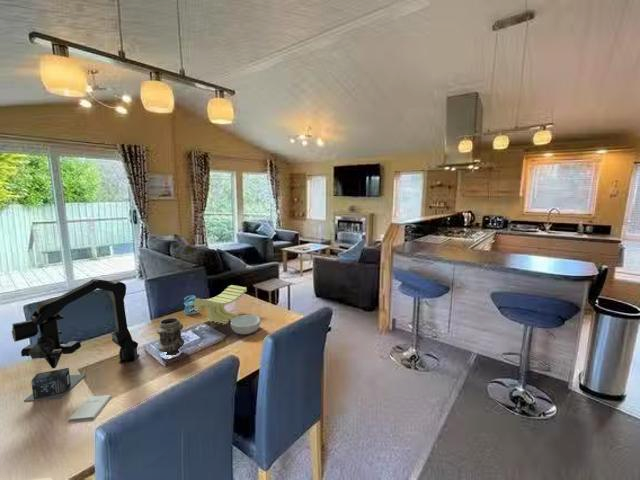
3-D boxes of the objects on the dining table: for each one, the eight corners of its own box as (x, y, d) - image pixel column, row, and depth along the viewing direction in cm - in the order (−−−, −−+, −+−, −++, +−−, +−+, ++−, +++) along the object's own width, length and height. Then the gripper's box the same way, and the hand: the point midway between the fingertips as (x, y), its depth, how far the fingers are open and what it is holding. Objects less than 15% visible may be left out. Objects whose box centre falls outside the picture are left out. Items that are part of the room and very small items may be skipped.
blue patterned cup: (182, 313, 206) (181, 296, 204) (195, 309, 212) (193, 293, 210) (186, 316, 201) (185, 299, 199) (199, 313, 206) (198, 296, 204)
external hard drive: (68, 423, 108) (88, 400, 120) (93, 420, 109) (111, 398, 121) (67, 419, 107) (88, 396, 120) (93, 416, 109) (111, 394, 121)
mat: (86, 375, 135) (86, 374, 135) (60, 398, 120) (60, 397, 120) (54, 377, 134) (53, 376, 134) (23, 401, 118) (23, 400, 118)
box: (67, 392, 123) (33, 399, 118) (71, 384, 128) (38, 391, 123) (64, 374, 122) (30, 381, 117) (69, 367, 127) (36, 373, 122)
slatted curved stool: (229, 308, 214) (228, 284, 211) (247, 312, 207) (246, 287, 205) (195, 325, 187) (193, 297, 185) (214, 330, 180) (213, 301, 178)
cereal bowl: (224, 335, 174) (224, 323, 173) (242, 323, 190) (242, 313, 189) (249, 340, 168) (249, 328, 167) (265, 328, 183) (265, 317, 182)
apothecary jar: (176, 346, 161) (174, 313, 159) (189, 353, 154) (187, 319, 152) (153, 355, 152) (150, 321, 149) (166, 363, 145) (163, 327, 142)
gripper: (6, 342, 114) (12, 381, 116) (60, 340, 116) (65, 377, 119) (30, 329, 125) (35, 365, 127) (79, 327, 127) (83, 362, 129)
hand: (54, 367), depth 125 cm, fingers closed
